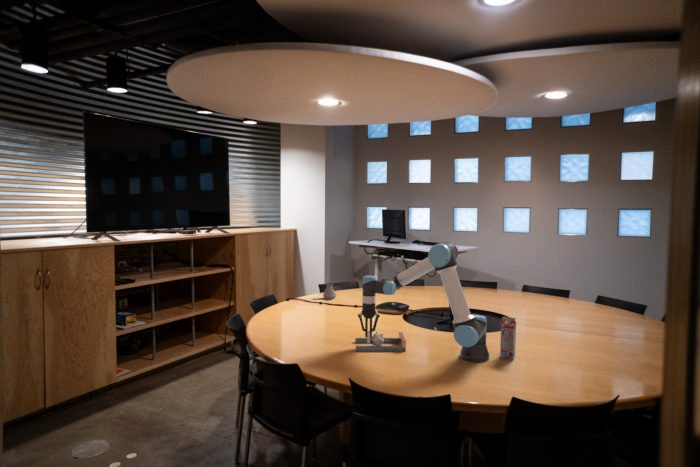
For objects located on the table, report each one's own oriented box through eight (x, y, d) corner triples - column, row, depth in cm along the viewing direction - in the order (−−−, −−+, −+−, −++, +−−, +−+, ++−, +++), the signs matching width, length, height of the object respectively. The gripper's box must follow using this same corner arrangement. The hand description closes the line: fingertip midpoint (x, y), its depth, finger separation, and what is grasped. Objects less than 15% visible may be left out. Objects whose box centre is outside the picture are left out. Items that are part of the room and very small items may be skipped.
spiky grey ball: (376, 353, 254) (369, 342, 249) (372, 344, 261) (365, 333, 256) (390, 346, 254) (383, 334, 249) (385, 337, 261) (379, 325, 256)
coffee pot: (320, 299, 384) (320, 282, 383) (327, 296, 394) (327, 280, 393) (342, 301, 374) (342, 284, 373) (348, 299, 384) (348, 282, 383)
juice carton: (513, 360, 233) (514, 319, 232) (500, 358, 237) (501, 317, 235) (515, 356, 239) (516, 316, 238) (502, 354, 242) (503, 315, 241)
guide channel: (405, 351, 247) (405, 340, 247) (355, 351, 247) (355, 340, 246) (401, 341, 264) (402, 332, 263) (355, 341, 264) (355, 332, 263)
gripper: (379, 301, 257) (379, 340, 259) (357, 301, 257) (357, 340, 259) (380, 304, 250) (380, 344, 251) (357, 303, 250) (357, 344, 251)
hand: (368, 342), depth 255 cm, fingers closed
